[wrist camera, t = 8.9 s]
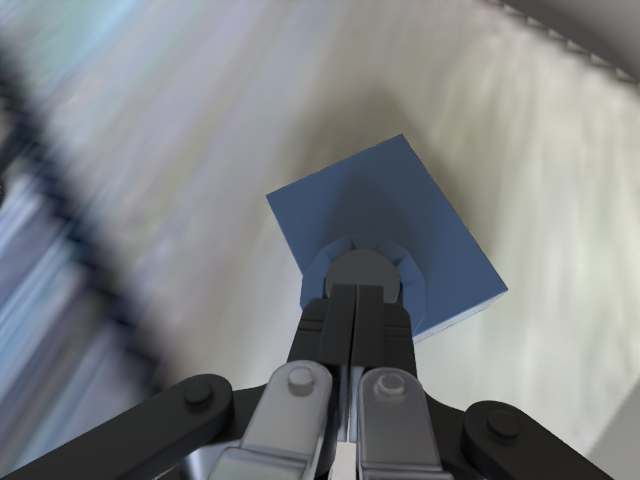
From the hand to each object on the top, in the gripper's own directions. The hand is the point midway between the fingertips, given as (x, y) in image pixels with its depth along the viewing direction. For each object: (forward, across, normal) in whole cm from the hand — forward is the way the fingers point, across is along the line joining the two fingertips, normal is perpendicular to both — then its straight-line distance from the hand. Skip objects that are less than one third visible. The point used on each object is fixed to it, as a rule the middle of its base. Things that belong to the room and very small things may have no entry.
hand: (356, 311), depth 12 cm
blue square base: (+16, -1, +6) cm, 17 cm away
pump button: (+8, 0, +4) cm, 9 cm away
